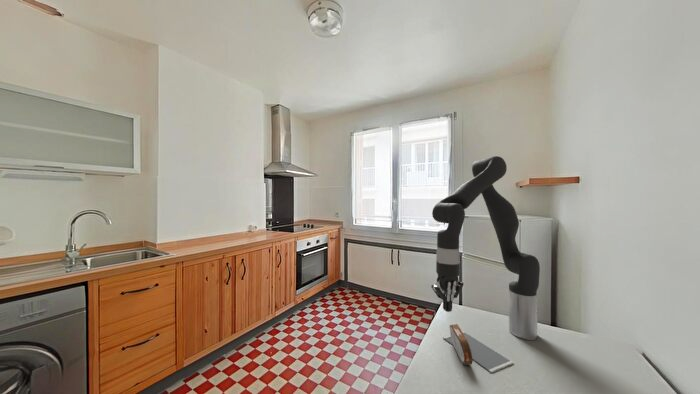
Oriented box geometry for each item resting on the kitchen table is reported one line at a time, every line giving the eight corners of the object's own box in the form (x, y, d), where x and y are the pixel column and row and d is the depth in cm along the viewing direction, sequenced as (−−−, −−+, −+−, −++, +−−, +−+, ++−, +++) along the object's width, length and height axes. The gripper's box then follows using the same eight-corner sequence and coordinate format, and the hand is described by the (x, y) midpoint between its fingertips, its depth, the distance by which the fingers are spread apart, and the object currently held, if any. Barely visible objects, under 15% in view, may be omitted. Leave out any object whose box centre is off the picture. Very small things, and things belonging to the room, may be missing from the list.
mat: (463, 332, 97) (463, 331, 97) (513, 363, 78) (513, 362, 78) (443, 338, 93) (443, 337, 93) (491, 373, 74) (491, 371, 74)
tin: (474, 370, 75) (472, 345, 75) (463, 370, 75) (462, 344, 75) (457, 341, 90) (456, 319, 90) (449, 341, 90) (448, 319, 90)
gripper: (453, 256, 87) (453, 303, 87) (425, 259, 82) (424, 309, 81) (470, 261, 80) (470, 312, 80) (441, 265, 75) (441, 319, 75)
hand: (447, 310), depth 81 cm, fingers closed
